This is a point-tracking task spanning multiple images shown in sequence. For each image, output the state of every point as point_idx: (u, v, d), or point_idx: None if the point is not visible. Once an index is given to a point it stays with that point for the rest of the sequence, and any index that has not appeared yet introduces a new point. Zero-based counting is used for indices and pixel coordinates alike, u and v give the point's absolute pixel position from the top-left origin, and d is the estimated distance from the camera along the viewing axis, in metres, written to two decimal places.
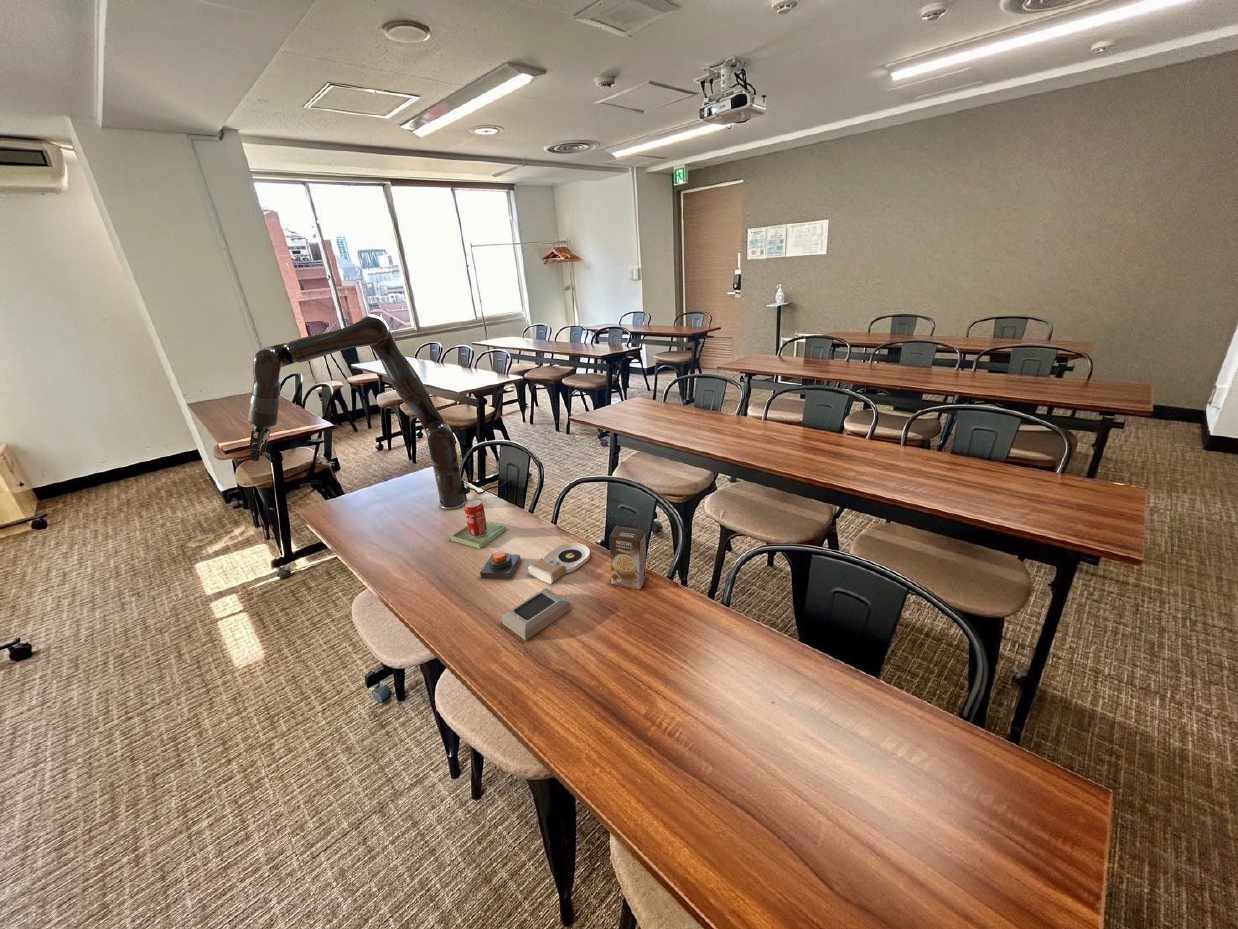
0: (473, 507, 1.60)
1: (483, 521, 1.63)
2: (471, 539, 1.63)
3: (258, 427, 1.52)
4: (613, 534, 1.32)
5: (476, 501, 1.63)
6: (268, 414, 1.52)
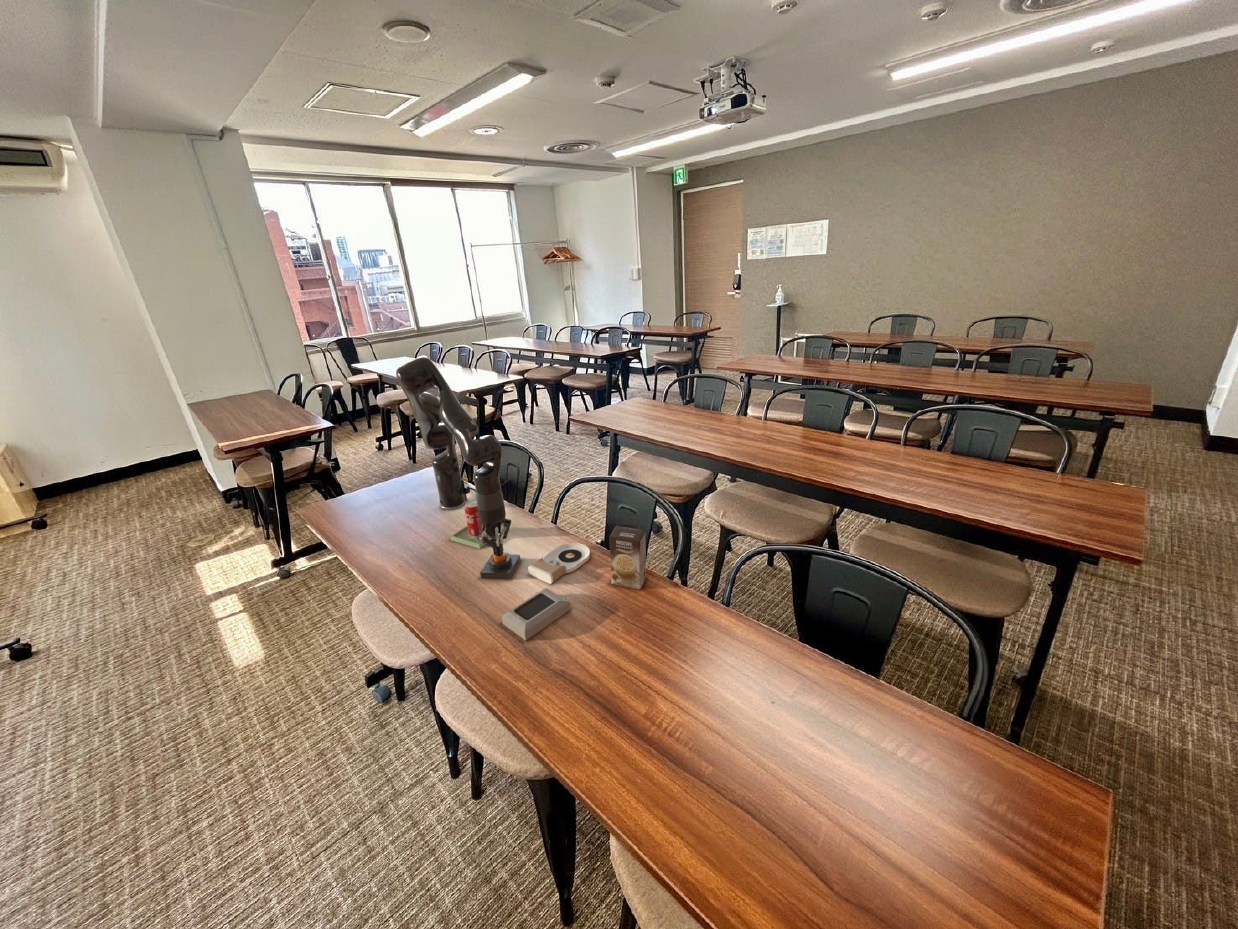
0: (473, 507, 1.60)
1: None
2: (471, 539, 1.63)
3: None
4: (613, 534, 1.32)
5: (476, 501, 1.63)
6: None
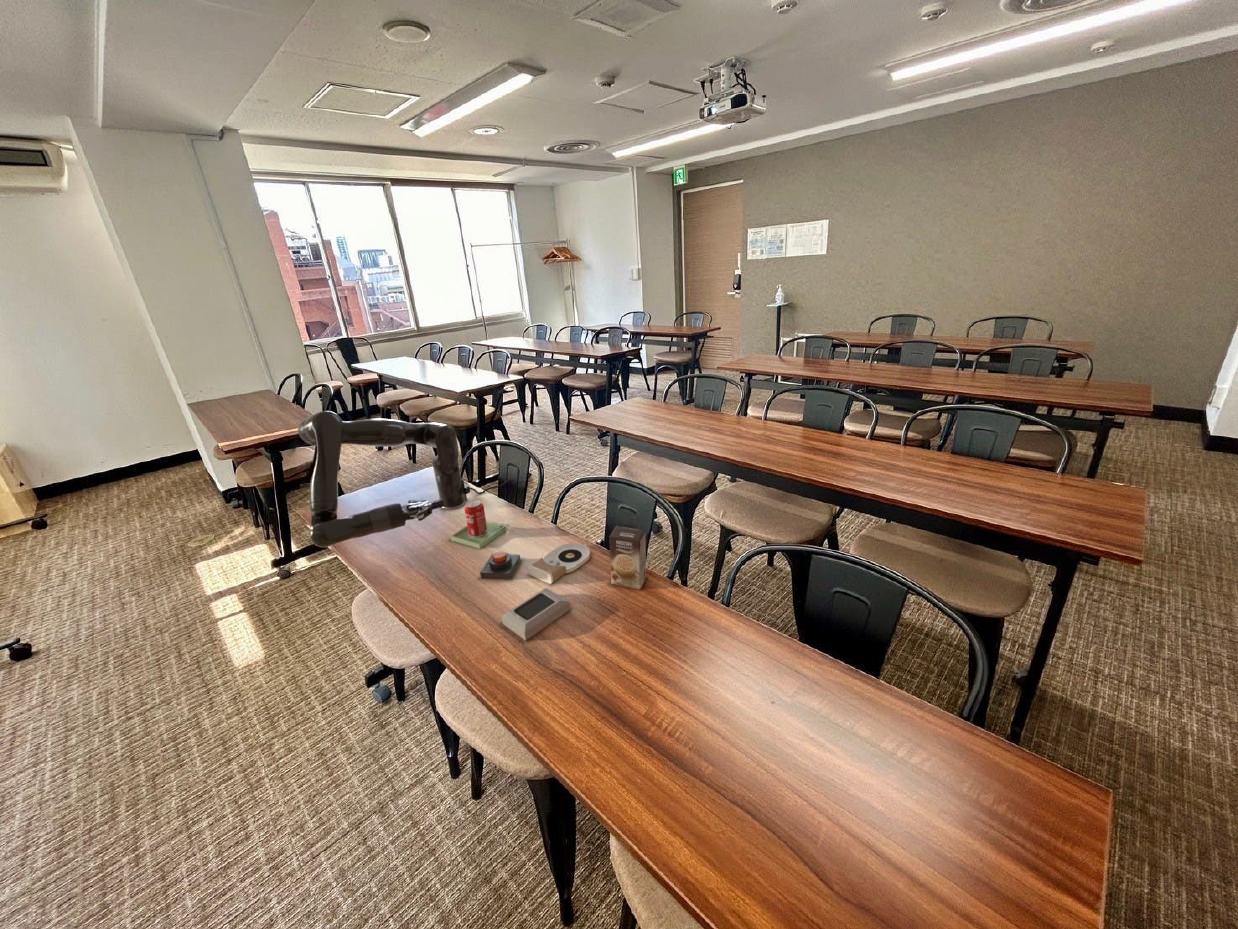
0: (473, 507, 1.60)
1: (483, 521, 1.63)
2: (471, 539, 1.63)
3: (406, 518, 1.46)
4: (613, 534, 1.32)
5: (476, 501, 1.63)
6: (388, 515, 1.43)
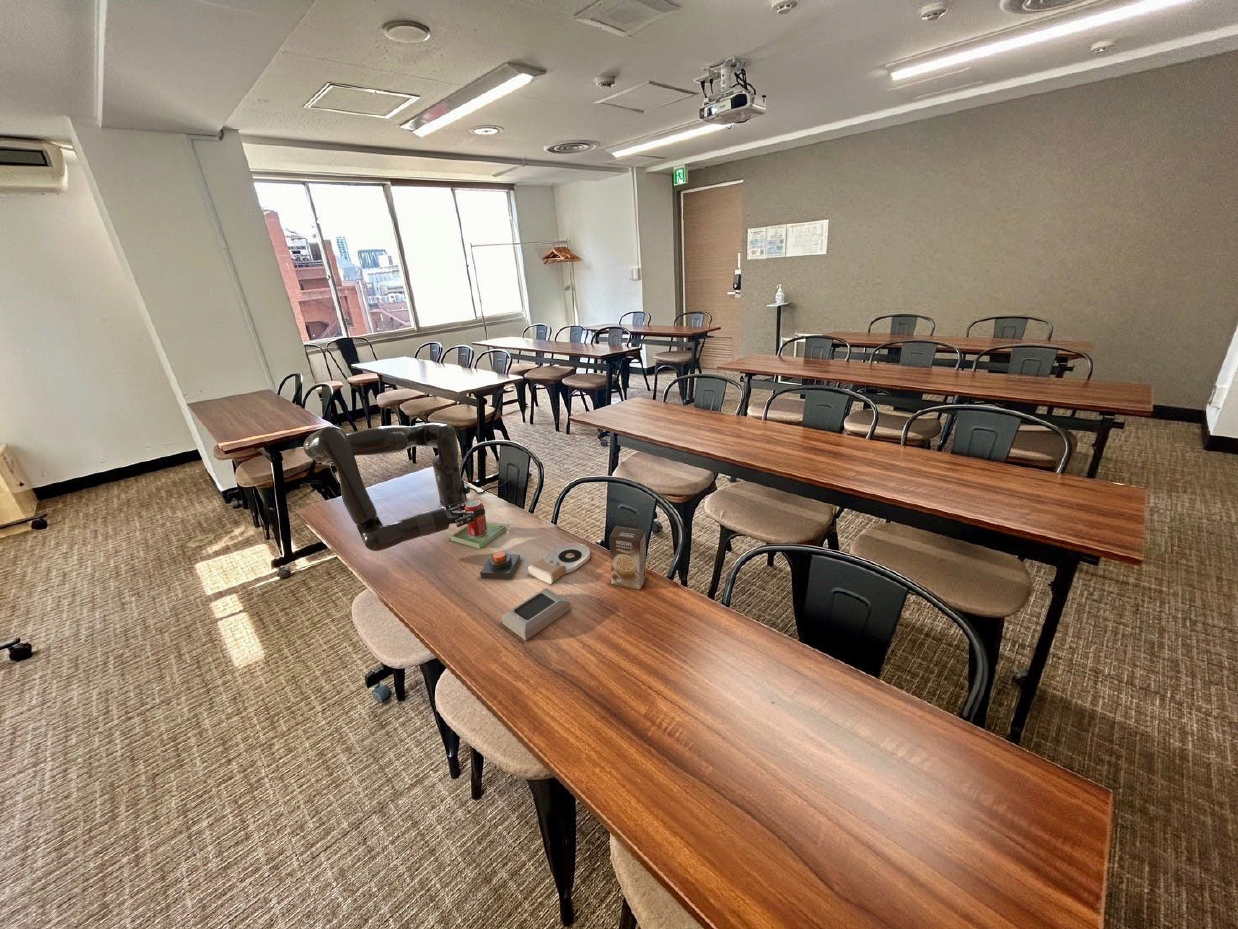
0: (473, 507, 1.60)
1: (483, 521, 1.63)
2: (471, 539, 1.63)
3: (450, 522, 1.55)
4: (613, 534, 1.32)
5: (476, 501, 1.63)
6: (434, 520, 1.52)
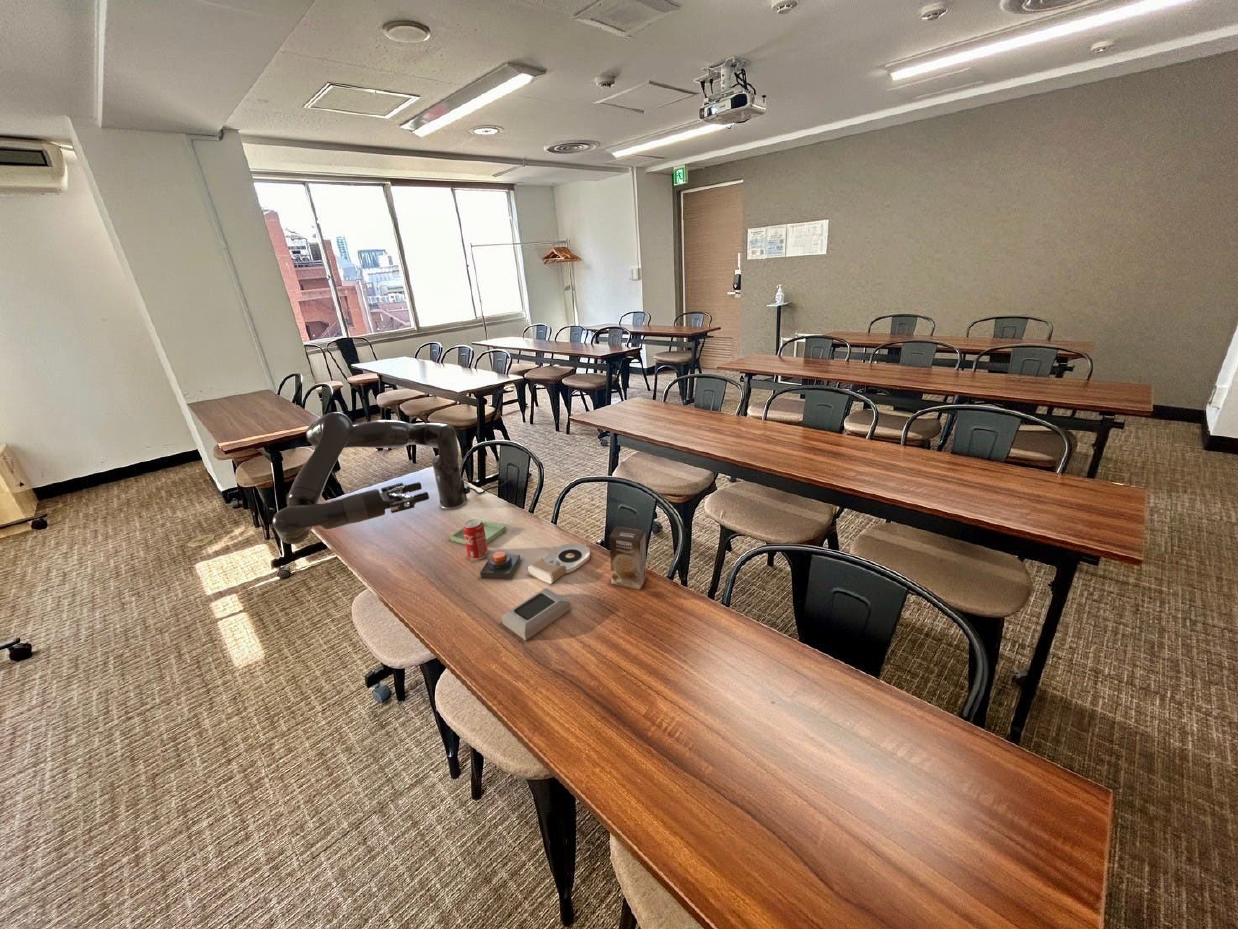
0: (472, 527, 1.48)
1: (483, 542, 1.51)
2: None
3: (385, 506, 1.30)
4: (613, 534, 1.32)
5: (476, 520, 1.51)
6: (365, 504, 1.27)
